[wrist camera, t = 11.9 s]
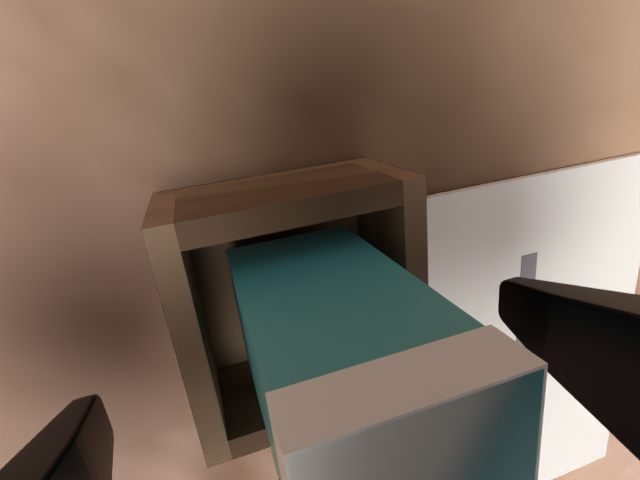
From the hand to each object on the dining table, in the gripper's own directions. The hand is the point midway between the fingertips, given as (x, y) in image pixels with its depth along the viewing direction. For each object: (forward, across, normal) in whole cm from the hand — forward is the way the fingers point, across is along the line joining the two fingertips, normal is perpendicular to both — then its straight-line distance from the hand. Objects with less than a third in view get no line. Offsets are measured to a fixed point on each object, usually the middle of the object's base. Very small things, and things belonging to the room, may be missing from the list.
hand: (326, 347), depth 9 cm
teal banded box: (+4, 0, 0) cm, 4 cm away
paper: (+4, -9, +6) cm, 12 cm away
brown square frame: (+4, 0, 0) cm, 4 cm away
